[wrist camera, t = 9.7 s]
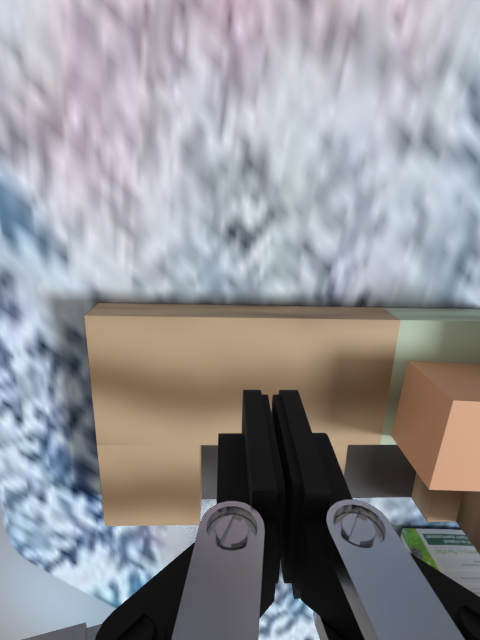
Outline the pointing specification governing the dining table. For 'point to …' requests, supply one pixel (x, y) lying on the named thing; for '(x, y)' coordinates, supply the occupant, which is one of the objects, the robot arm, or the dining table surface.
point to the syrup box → (446, 554)
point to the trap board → (268, 376)
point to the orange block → (441, 424)
